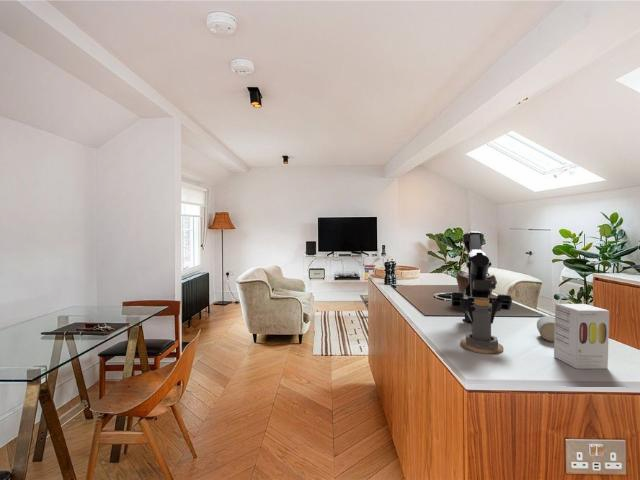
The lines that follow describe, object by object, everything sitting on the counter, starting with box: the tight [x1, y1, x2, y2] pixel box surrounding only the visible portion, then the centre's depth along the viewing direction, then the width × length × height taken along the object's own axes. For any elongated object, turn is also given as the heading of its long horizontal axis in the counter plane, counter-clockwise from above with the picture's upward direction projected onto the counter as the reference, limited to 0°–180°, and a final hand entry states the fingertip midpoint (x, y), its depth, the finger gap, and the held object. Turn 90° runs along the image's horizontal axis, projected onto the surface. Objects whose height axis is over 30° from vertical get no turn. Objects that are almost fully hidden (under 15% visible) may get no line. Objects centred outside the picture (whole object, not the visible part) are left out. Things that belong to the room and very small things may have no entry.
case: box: [455, 269, 498, 298], centre depth 173 cm, size 18×20×18 cm
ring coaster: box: [460, 332, 504, 355], centre depth 112 cm, size 13×13×3 cm
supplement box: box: [553, 303, 610, 370], centre depth 98 cm, size 10×9×17 cm
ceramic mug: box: [536, 315, 555, 343], centre depth 118 cm, size 11×8×8 cm
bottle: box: [471, 298, 492, 341], centre depth 111 cm, size 6×6×15 cm
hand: (482, 322), depth 110 cm, fingers closed on bottle, 6 cm apart
